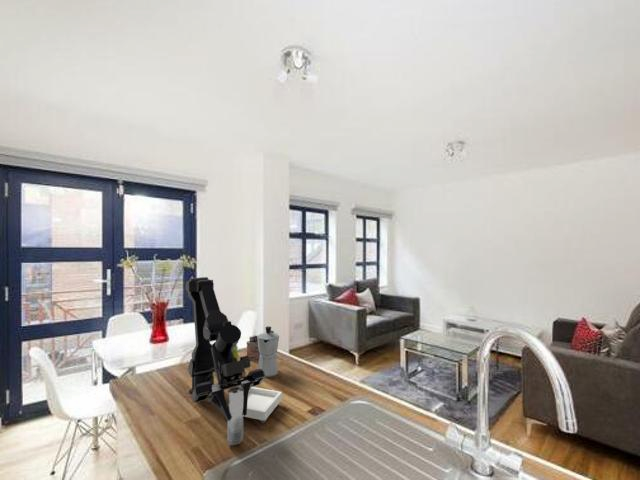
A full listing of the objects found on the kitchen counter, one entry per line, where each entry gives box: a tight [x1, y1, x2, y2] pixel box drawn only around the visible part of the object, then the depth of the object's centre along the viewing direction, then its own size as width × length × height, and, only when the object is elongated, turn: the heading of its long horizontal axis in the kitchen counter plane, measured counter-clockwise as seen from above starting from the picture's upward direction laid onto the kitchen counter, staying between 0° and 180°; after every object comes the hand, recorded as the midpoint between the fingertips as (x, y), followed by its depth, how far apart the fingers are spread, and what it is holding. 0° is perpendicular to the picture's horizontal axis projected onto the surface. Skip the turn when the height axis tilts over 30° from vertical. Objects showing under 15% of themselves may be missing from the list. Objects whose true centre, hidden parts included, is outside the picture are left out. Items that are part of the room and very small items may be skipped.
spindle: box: [226, 386, 244, 446], centre depth 82 cm, size 4×4×13 cm
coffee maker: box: [256, 326, 280, 378], centre depth 125 cm, size 15×9×18 cm, turn 179°
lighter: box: [246, 334, 260, 361], centre depth 138 cm, size 8×3×10 cm, turn 117°
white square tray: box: [243, 386, 283, 424], centre depth 97 cm, size 12×12×4 cm
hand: (237, 417), depth 81 cm, fingers closed on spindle, 4 cm apart
